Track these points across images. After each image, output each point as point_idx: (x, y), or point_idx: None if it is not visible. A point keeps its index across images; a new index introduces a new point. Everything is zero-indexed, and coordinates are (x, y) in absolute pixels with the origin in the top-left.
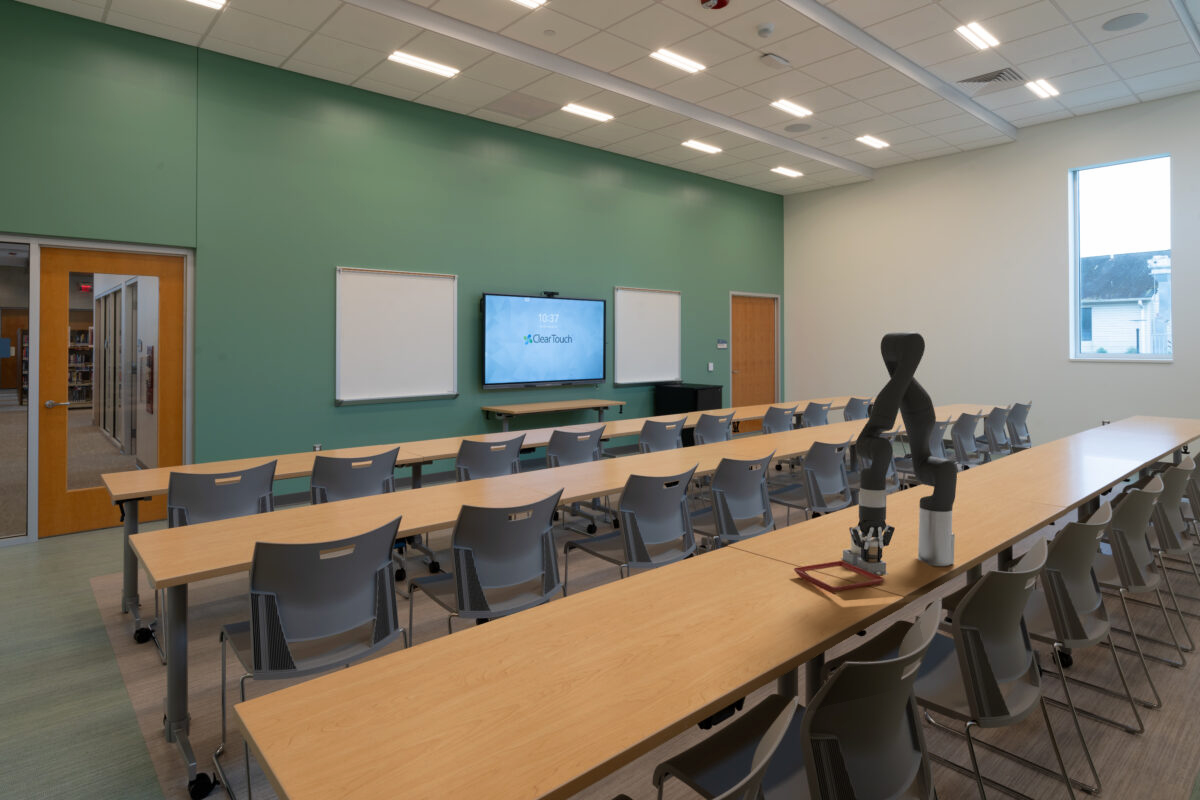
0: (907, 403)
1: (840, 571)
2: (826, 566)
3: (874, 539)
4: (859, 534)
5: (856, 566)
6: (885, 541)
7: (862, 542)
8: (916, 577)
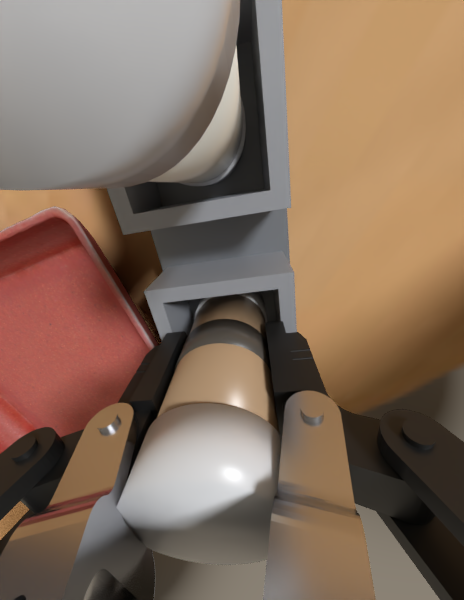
0: None
1: (94, 238)
2: None
3: (271, 508)
4: (18, 141)
5: (170, 248)
6: (398, 535)
7: (94, 471)
8: (430, 337)
